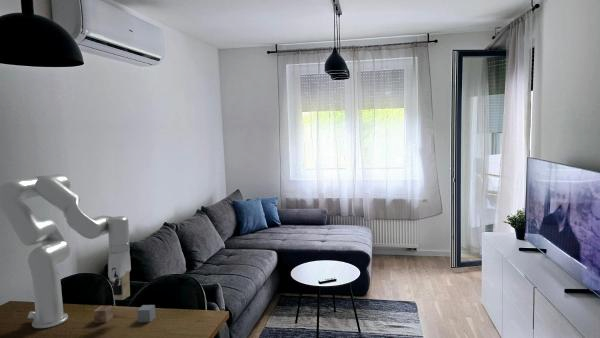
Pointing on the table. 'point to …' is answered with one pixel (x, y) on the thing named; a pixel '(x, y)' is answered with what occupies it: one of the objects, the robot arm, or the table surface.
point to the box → (124, 287)
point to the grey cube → (146, 313)
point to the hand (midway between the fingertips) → (121, 291)
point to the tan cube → (103, 314)
